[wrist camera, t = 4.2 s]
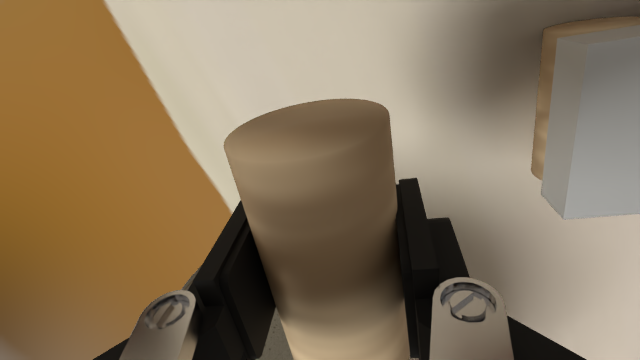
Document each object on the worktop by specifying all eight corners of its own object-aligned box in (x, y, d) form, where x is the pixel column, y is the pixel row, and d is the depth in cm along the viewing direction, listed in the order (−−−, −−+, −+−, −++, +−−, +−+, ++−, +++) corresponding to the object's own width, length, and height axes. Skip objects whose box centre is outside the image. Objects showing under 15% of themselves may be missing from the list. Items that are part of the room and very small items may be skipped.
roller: (252, 110, 11) (194, 171, 7) (386, 91, 10) (393, 149, 6) (304, 299, 14) (282, 400, 11) (405, 296, 14) (416, 404, 10)
